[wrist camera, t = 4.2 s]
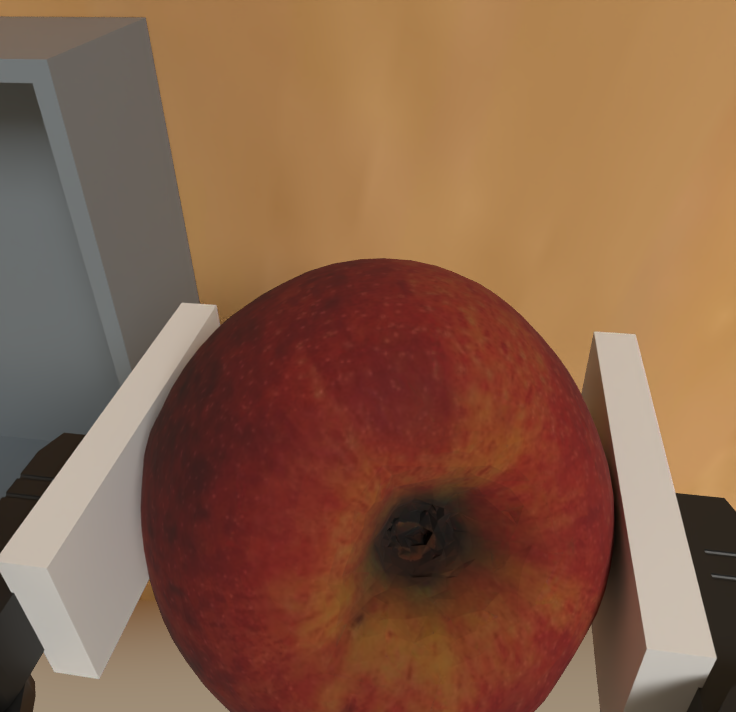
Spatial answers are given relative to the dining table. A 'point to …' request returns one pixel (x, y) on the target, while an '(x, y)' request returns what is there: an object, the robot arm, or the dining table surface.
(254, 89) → the dining table surface
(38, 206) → the tub
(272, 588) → the apple
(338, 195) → the dining table surface
